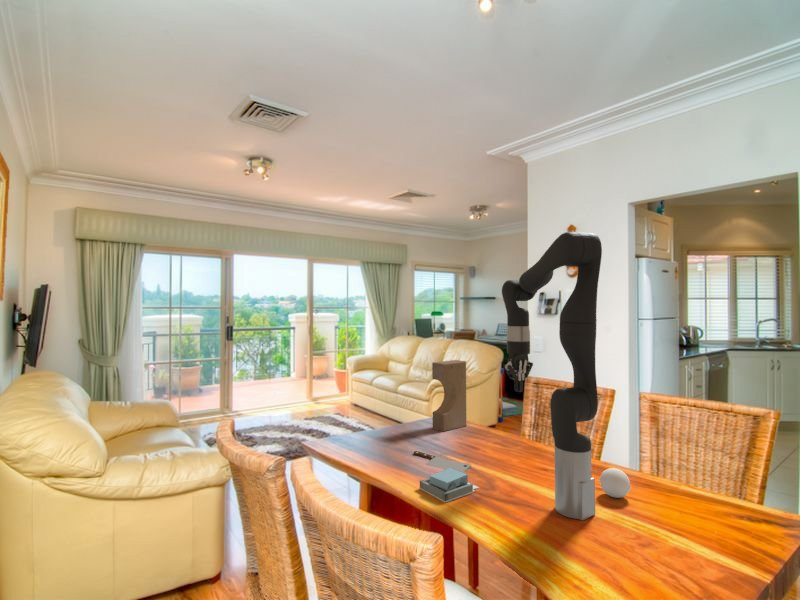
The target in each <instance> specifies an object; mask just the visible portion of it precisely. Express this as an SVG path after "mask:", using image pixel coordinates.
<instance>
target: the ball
mask: <svg viewBox="0 0 800 600" xmlns="http://www.w3.org/2000/svg"><path fill="white" fill-rule="evenodd" d="M599 483H600V487H601V490H603V491H604V493H605V494H606V495H608V496H609V497H612V498H616V499H620V498H623V497H626V496H627V494H629V492H630V489H631V481H630V479H629V477H628V475H627V474H626V473H625V472H624V471H622V469H619V468H615V467H611V468H610V467H609V468H607V469H605V470H603V471H602V472H601V474H600V476H599Z"/></svg>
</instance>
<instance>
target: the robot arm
mask: <svg viewBox="0 0 800 600" xmlns="http://www.w3.org/2000/svg"><path fill="white" fill-rule="evenodd" d="M602 253H603V249H602V242H601V239H600V237H599V236H598V235H597V234H596V233H594V232H581V231H580V232H579V231H567V232H563V233H561V234H560V235H559V236H558V237H556V239H555V240H554V241H553V242H552V243H551V245H550V246H549V247H548V249H547V250H546V251H545V252H544V253H543V254H542V256H541V257H540V258H539V259H538V261H537V262H536V263H535V264H534V265H532V266H530V267H529V268H528V269H527V270H526V271H524V272H523V273H522V274H521V275H520V277H519V278H518V279H515V280H514V279H509V280H506V281H505V282H504V283H503V285H502V287H501V296H502V299H503V302H504V306H505V310H506V315H507V320H506V321H507V329H506V353H507V354H508V355H509V356H508V359H507V361H508V362H507V363H506V364H505V363H504V364H503V366H502V367H503V369H504V371H505V372H506V374H507V377H509V379H511V380H513V388H514V392H517V393H522V392H523V391H524V381H525V379H528V377H529V375H530V373H531V370H532V368H533V366H534V363H533V362H530V360H529V356H528V355H530V354H531V331H530V314H529V313H530V312H529V310H528V309H526V308H523V307H520V306H519V305H518V303H517V302H527V301H530V300H532V299H533V298H534V297H535V295H536V294H537V292H538V291H539V290H541V289H543V287H545V286H547V284H549V282H551V281H552V278H553V276H554V271H555V270H557V269H559V268H561V267H564V266H565V267H576V268H577V276H576V283H575V286H574V288H573V290H572V292H571V293H570V296H569V297H568V299H567V300H566V302H565V303H564V306H563V307H562V309H561V312H560V315H559V330H558V331H559V341H560V344H561V346H562V348H563V350H564V352H565V354H566V356H567V358H568V359H569V361H570V363H571V366H572V370H573V385H572V386H573V387H571V386H570V387H561V388H556V389H555V390H553V392H552V394H551V397H550V405H549V406H550V409H549V410H550V419H551V432H552V436H553V440H554V501H555V502H554V509H555V510H556V512H557V513H558V514H560V515H562V516H565V517H568V518H570V519H576V520H580V521H585V520H586V519H588V518H590V517H593V516H594V515H596V480H595V479H596V478H594V477H592V440H591V438H590V437H589V436H588V435H586V434H583V433H580V432H578V426H577V423H583V422H588V421H591V420H593V419H594V418H595V417H596V415H597V412H598V408H599V405H598V404H599V403H598V402H599V401H598V385H597V373H596V371H597V370H596V341H597V302H598V289H599V288H598V287H599V279H600V270H601V265H602V264H601V263H602V257H603V256H602Z"/></svg>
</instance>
